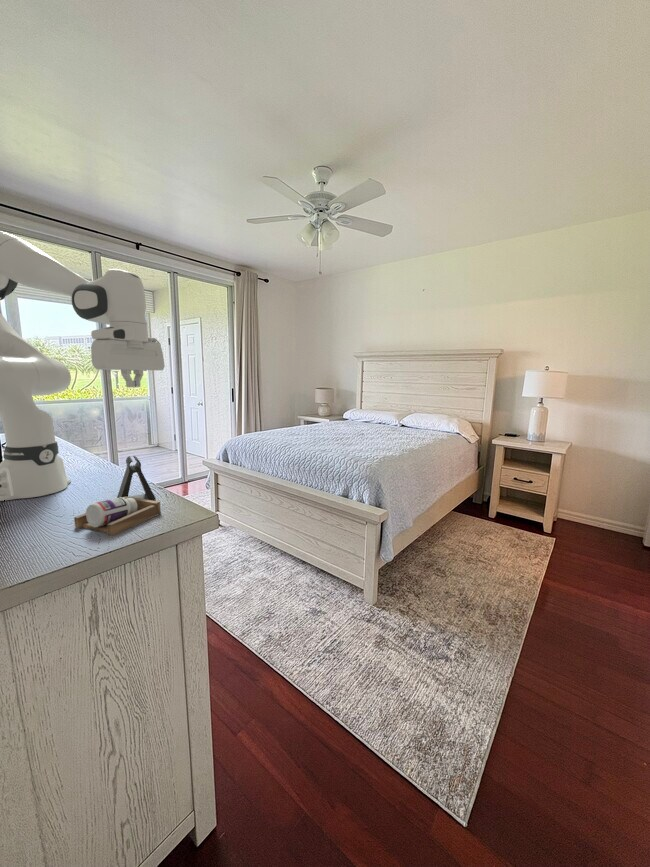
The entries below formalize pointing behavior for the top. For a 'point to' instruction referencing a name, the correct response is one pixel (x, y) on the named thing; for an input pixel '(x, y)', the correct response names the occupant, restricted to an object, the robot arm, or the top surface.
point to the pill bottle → (110, 511)
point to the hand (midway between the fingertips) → (133, 387)
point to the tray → (144, 512)
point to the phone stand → (128, 477)
